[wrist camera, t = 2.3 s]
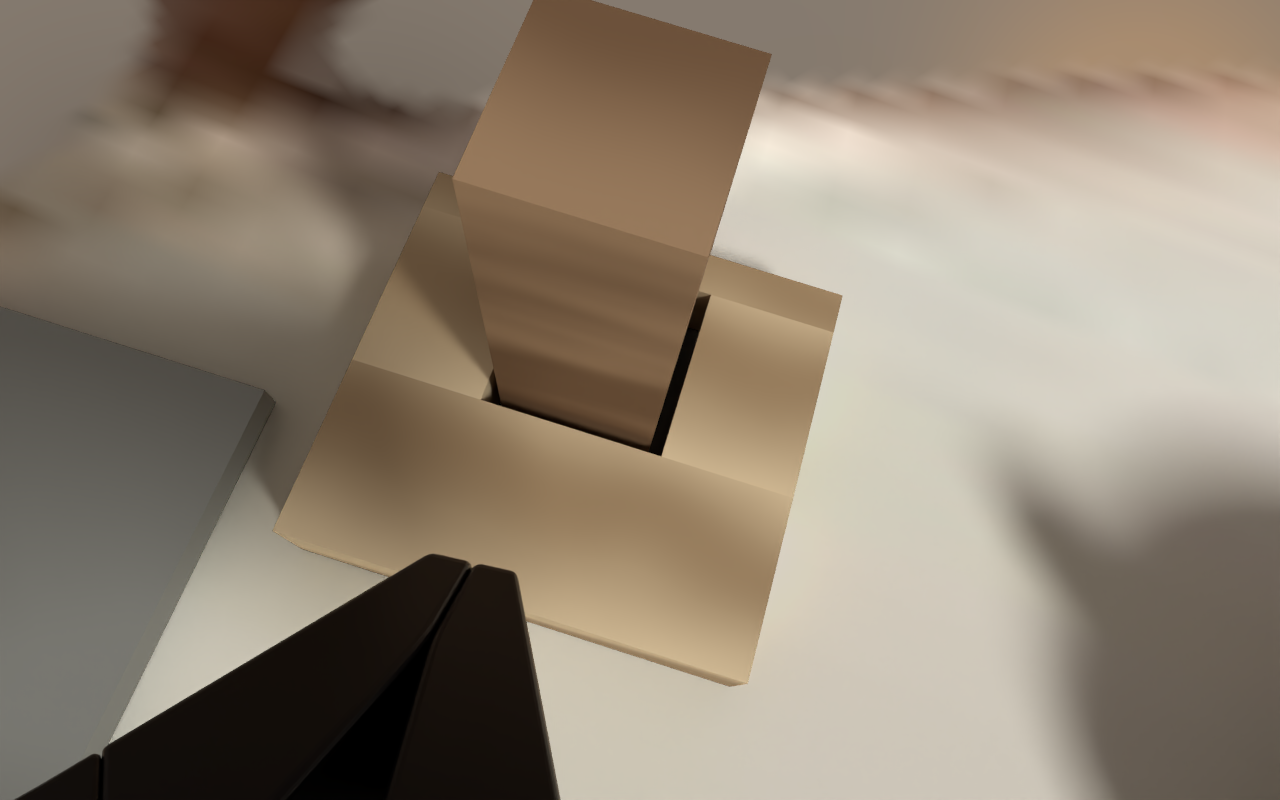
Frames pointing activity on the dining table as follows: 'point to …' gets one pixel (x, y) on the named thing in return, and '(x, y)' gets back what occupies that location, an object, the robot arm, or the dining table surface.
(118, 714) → the grey mat
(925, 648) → the dining table surface
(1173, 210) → the dining table surface
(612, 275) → the walnut block
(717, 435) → the oak holder
